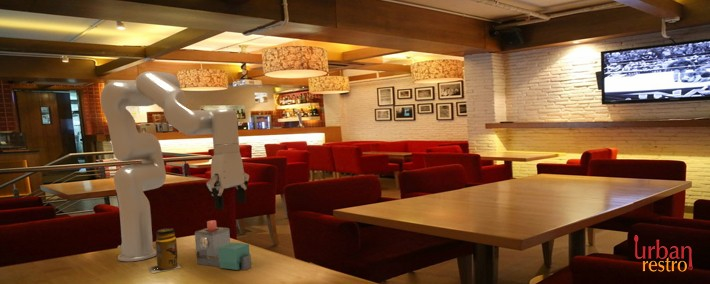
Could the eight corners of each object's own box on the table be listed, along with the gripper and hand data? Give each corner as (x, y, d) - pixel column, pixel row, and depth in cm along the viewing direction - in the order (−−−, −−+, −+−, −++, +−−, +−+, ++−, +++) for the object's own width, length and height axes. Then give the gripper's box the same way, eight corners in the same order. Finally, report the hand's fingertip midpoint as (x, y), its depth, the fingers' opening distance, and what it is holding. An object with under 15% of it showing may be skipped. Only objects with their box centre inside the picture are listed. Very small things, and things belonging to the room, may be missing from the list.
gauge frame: (195, 255, 163) (193, 232, 163) (213, 248, 171) (212, 226, 170) (213, 257, 159) (211, 233, 159) (230, 250, 167) (229, 228, 166)
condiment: (181, 267, 150) (179, 229, 149) (152, 273, 145) (149, 234, 145) (176, 262, 156) (173, 226, 156) (148, 268, 151) (145, 230, 151)
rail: (197, 264, 153) (196, 251, 153) (204, 261, 156) (203, 249, 155) (244, 270, 144) (243, 257, 144) (251, 267, 147) (250, 254, 146)
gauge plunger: (206, 236, 164) (205, 222, 164) (212, 234, 167) (211, 220, 167) (212, 237, 163) (211, 222, 163) (218, 235, 166) (218, 220, 165)
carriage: (219, 267, 147) (217, 247, 146) (232, 262, 152) (231, 242, 152) (236, 270, 143) (235, 249, 143) (250, 264, 149) (248, 244, 148)
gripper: (236, 148, 155) (240, 200, 156) (196, 152, 140) (200, 211, 141) (254, 147, 152) (258, 201, 153) (215, 152, 137) (219, 211, 137)
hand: (230, 205), depth 147 cm, fingers open, 9 cm apart
